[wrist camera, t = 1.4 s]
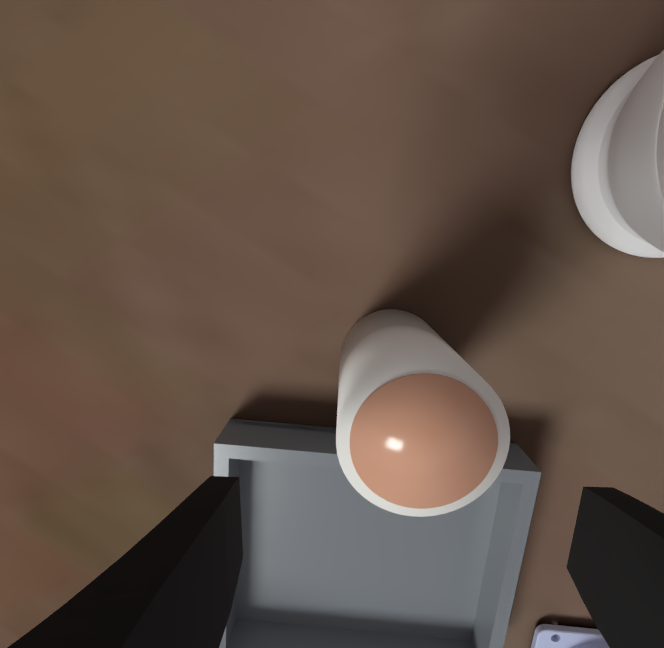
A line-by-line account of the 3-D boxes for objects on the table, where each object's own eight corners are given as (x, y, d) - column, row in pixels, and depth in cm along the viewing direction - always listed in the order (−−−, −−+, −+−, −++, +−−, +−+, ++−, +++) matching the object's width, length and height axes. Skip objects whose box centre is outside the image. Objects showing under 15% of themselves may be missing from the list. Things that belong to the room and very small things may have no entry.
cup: (447, 313, 18) (527, 368, 10) (433, 408, 19) (496, 527, 11) (344, 305, 18) (343, 354, 10) (336, 400, 19) (329, 512, 11)
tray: (516, 443, 19) (541, 472, 17) (477, 641, 22) (493, 690, 20) (230, 418, 20) (213, 443, 17) (227, 616, 22) (212, 662, 20)
